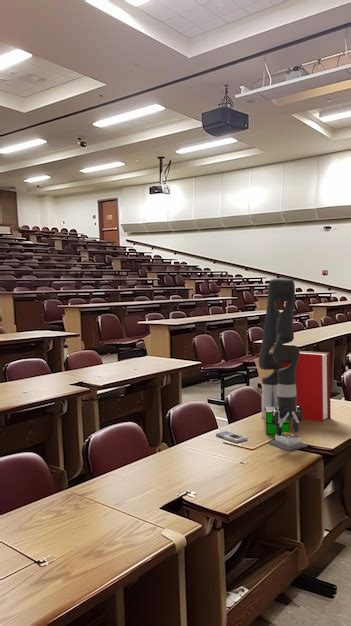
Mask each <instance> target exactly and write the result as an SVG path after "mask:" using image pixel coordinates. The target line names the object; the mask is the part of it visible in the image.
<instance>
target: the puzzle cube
mask: <svg viewBox="0 0 351 626" xmlns="http://www.w3.org/2000/svg"><path fill="white" fill-rule="evenodd" d="M278 409H279V407H264V417H265V418H263V419H264V421H263V422H264V425H263V427H264V430H265V434H266V435H274V436H275V435H276V426H274V425H272V411H273V410H274V411H278ZM281 419H282V418H281ZM279 423H280V422H279ZM281 427H282V433H285V432H290V419H288V420H285V422H284V423H283V424H282V426H281Z"/></svg>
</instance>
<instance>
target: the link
mask: <svg viewBox="0 0 351 626" xmlns="http://www.w3.org/2000/svg"><path fill="white" fill-rule="evenodd" d="M274 440H275V442H277V443H279V444H282V445H285V446H287V447H291V446H296V445H300V444H301V443H302V442H301V441H302V438H301V436H299V435H297V434H294V433H291V438H286V437H285V433H282V436H278V435H277V434H276V435H275V434H274Z"/></svg>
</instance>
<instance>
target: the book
mask: <svg viewBox="0 0 351 626" xmlns="http://www.w3.org/2000/svg"><path fill="white" fill-rule="evenodd" d="M299 351H300V355H299V359H298V363H297V366H296V373H295V384H296V403H297V405H296V406H299V407H302V420H303V419H304V420H307V421H314V422H320V423H324V420H326V419H332V418H331V414H332V413H331V353H330V352H321V351H311V350H309V351H307V350H299ZM290 364H291V363H282V368H286V367H288V366H289V365H290ZM273 371H274V369H273ZM273 371H272V372H273ZM295 415H296V412H295Z"/></svg>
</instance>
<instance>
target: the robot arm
mask: <svg viewBox="0 0 351 626" xmlns="http://www.w3.org/2000/svg"><path fill="white" fill-rule="evenodd" d="M295 294H296V286H295V282H294V280H293V279H290V278H271V279H270V281H269V282H268V289H267V302H266V303H267V304H266V312H265V319H264V323H263V324H264V325H263V333H262V334H263V335H262V341H261V346H260V350H259V354H258V355H259V356H258V367H259V368H260V369H261V370H262V371H263V370H265V371H266V370H267V371H268V370H269V371H270V370H271V372H270V373H269V374H267V375H265V376H263V377H262V380H261V381H262V383H261V385H262V389H261V390H262V397H261V401H260V402H261V417H262V418H263V419H264V418H265V417H264V407H279V409H278V411H274V410H273V411H272V425H274V426H276V434H277V435H278V436H282V427H281V426H282V424H283V423H284V422H285V420H288V419H289V420H292V432H293V433H298V431H299V423H300V422H302V421H303V419H302V407H299V406H296V405H297V403H296V384H295V373H296V366H297V363H298V359H299V355H300V351H301V350H300V349H299V348H298V346H297V345H293V344H291V345H289V343H292V342H293V341H294V339H295V335H294V334H295V333H294V312H295V297H296V296H295ZM276 300H277V301H278V300H279V301H286V305H285V307H284V308H283V310H282V311H280V310H279V308H278V306H277V304H276ZM286 344H287V345H286ZM272 347H273V350H271V348H272ZM282 363H291V364H290V365H289V366H288V367H286V368H282ZM273 369H274V371H272V370H273ZM295 412H296V415H295ZM281 418H282V419H281ZM279 422H280V423H279Z"/></svg>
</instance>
